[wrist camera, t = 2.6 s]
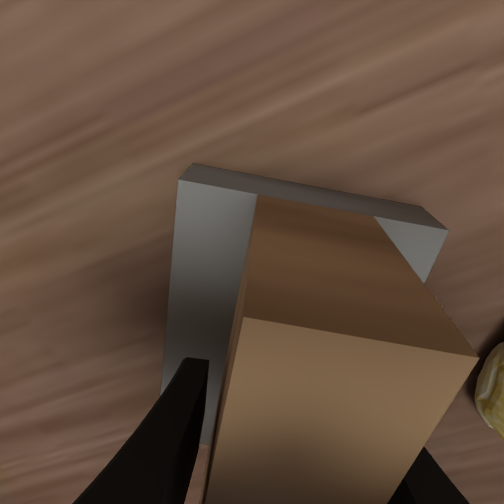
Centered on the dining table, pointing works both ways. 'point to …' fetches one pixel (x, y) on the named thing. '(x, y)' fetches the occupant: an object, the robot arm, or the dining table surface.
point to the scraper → (308, 337)
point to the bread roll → (492, 390)
